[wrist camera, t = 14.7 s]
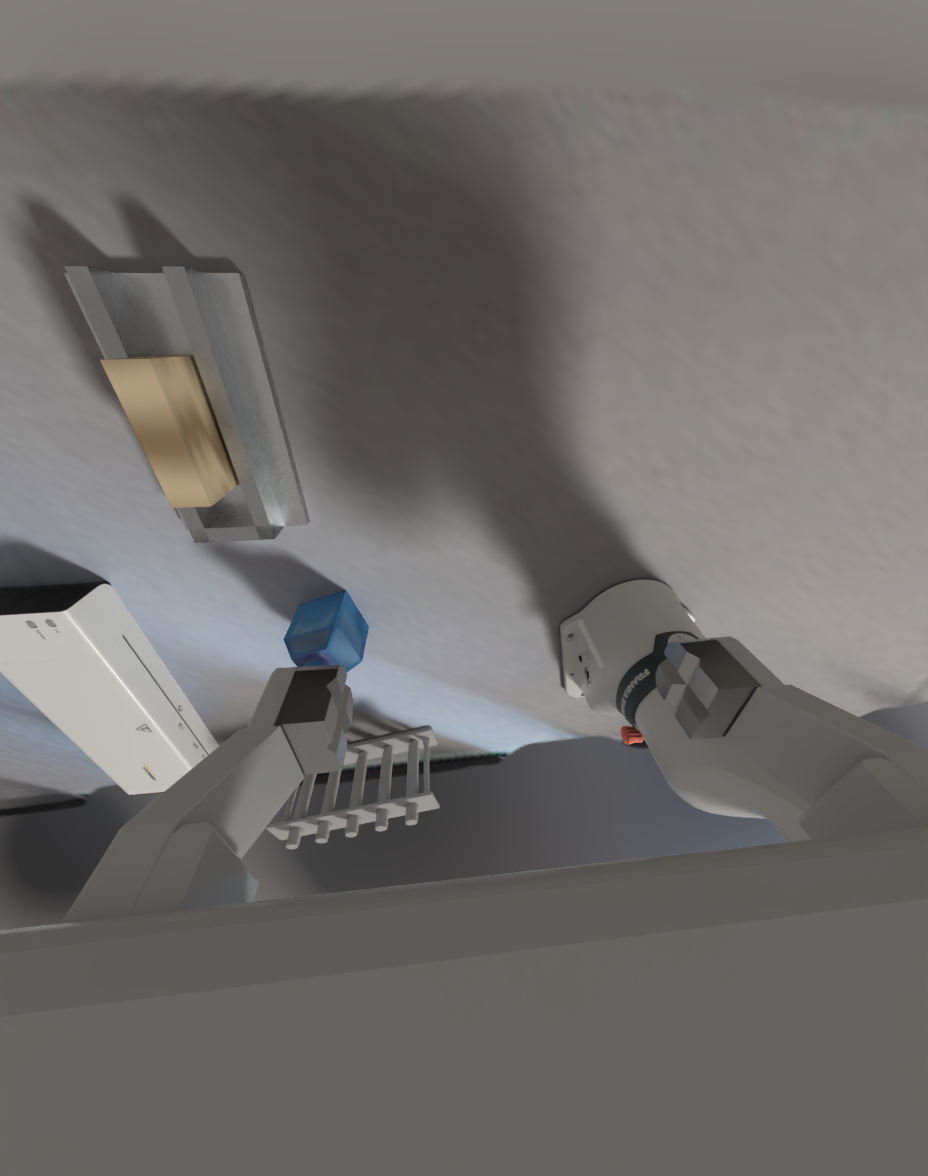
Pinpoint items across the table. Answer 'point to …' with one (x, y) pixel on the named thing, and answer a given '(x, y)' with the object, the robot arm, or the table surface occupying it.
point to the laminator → (101, 683)
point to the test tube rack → (356, 812)
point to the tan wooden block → (175, 426)
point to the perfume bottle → (327, 633)
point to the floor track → (206, 382)
